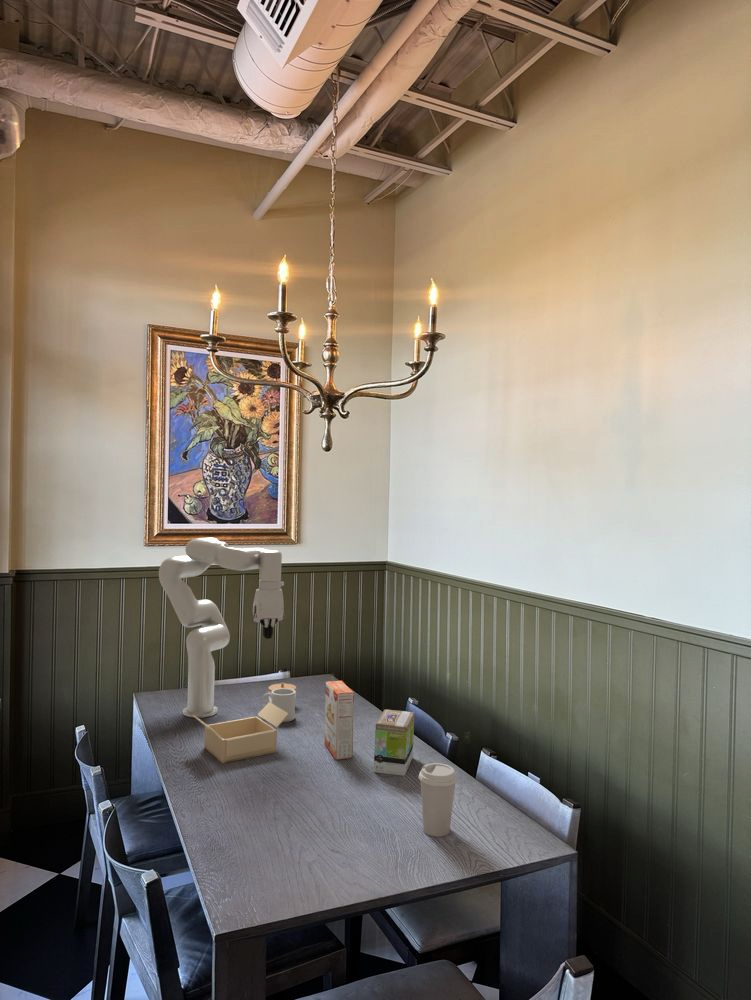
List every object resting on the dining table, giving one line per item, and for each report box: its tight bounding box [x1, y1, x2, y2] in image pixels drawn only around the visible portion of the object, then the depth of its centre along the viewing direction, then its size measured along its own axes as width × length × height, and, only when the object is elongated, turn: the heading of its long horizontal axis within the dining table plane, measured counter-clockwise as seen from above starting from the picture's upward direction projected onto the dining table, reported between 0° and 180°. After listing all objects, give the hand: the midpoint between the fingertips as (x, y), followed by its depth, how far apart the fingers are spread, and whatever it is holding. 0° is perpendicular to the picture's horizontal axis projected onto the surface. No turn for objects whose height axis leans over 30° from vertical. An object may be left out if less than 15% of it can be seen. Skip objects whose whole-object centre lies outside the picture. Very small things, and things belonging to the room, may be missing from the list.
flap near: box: [193, 715, 222, 738], centre depth 207 cm, size 14×6×1 cm
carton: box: [204, 716, 278, 764], centre depth 214 cm, size 16×18×7 cm
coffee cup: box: [418, 762, 458, 838], centre depth 165 cm, size 10×10×15 cm
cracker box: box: [324, 680, 355, 761], centre depth 215 cm, size 14×6×21 cm, turn 19°
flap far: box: [257, 701, 289, 728], centre depth 220 cm, size 14×6×1 cm
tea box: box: [373, 709, 415, 777], centre depth 205 cm, size 15×10×15 cm, turn 168°
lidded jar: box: [267, 682, 297, 703], centre depth 258 cm, size 11×11×9 cm
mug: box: [261, 688, 297, 723], centre depth 245 cm, size 12×9×10 cm
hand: (267, 637), depth 235 cm, fingers closed
